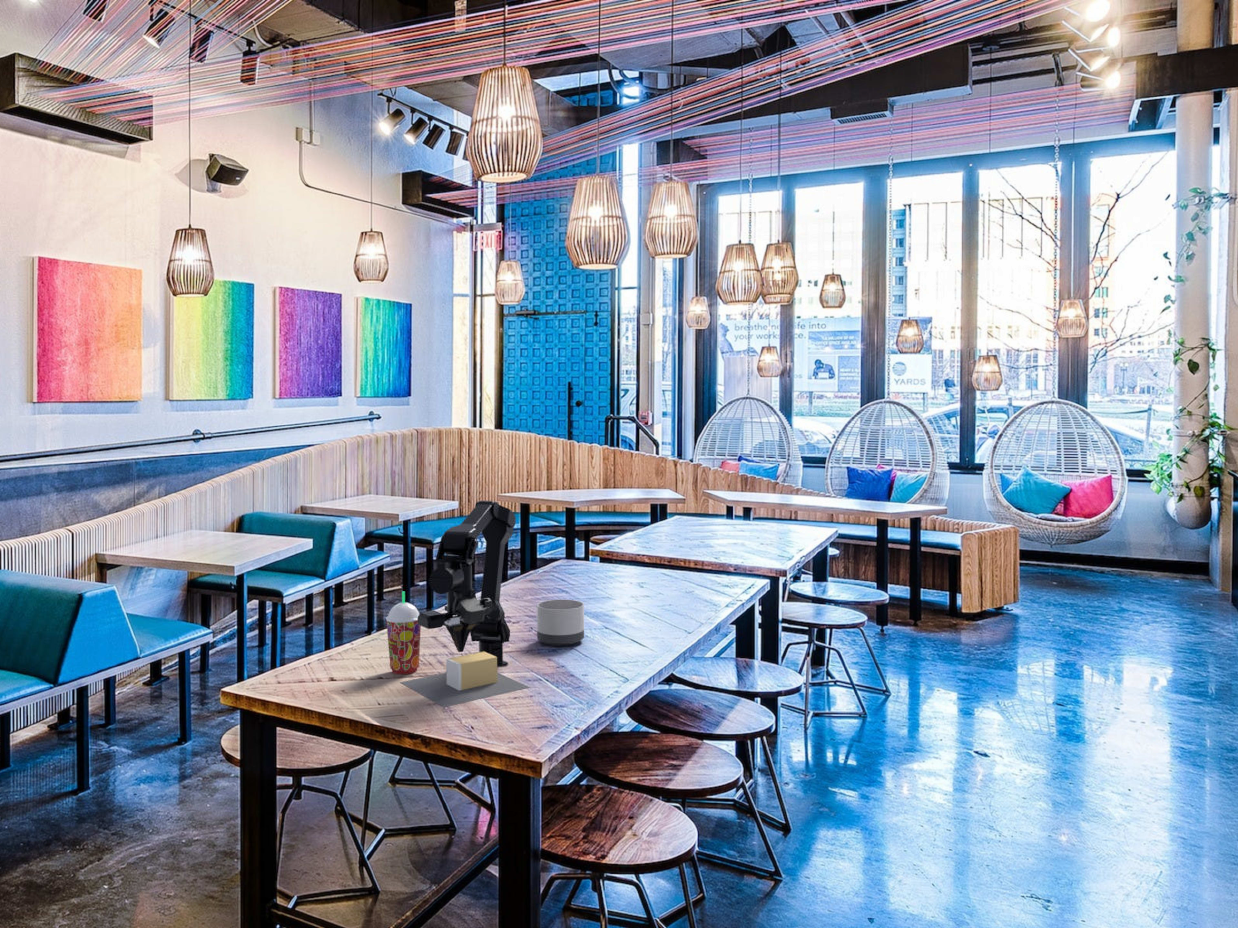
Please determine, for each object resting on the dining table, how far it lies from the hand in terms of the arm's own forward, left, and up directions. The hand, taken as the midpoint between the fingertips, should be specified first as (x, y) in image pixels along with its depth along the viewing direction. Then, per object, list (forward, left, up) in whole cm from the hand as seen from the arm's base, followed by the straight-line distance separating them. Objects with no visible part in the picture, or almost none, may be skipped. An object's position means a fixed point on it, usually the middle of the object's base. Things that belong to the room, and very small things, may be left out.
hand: (460, 651), depth 214 cm
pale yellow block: (0, -2, -5) cm, 5 cm away
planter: (-19, +41, -9) cm, 46 cm away
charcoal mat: (0, +1, -8) cm, 8 cm away
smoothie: (-19, -5, -9) cm, 21 cm away
